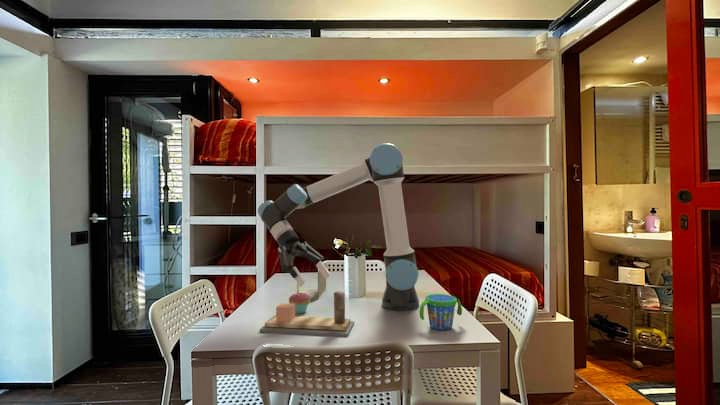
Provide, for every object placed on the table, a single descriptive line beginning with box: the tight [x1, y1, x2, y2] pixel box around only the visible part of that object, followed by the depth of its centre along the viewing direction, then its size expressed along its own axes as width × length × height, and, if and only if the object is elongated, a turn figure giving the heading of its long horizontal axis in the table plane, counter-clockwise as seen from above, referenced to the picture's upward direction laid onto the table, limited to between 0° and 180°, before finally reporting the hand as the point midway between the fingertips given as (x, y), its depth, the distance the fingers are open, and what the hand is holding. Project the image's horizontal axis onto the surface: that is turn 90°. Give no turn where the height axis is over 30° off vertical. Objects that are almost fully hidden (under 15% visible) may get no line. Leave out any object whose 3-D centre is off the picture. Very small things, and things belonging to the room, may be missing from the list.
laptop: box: [299, 263, 327, 300], centre depth 174 cm, size 18×12×13 cm
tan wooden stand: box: [264, 291, 351, 330], centre depth 128 cm, size 28×8×11 cm, turn 81°
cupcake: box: [288, 282, 311, 314], centre depth 148 cm, size 9×8×12 cm
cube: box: [275, 302, 296, 323], centre depth 130 cm, size 5×5×5 cm
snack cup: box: [418, 293, 463, 331], centre depth 128 cm, size 16×10×10 cm
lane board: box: [259, 320, 355, 338], centre depth 128 cm, size 30×12×1 cm, turn 81°
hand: (316, 280), depth 132 cm, fingers open, 13 cm apart
